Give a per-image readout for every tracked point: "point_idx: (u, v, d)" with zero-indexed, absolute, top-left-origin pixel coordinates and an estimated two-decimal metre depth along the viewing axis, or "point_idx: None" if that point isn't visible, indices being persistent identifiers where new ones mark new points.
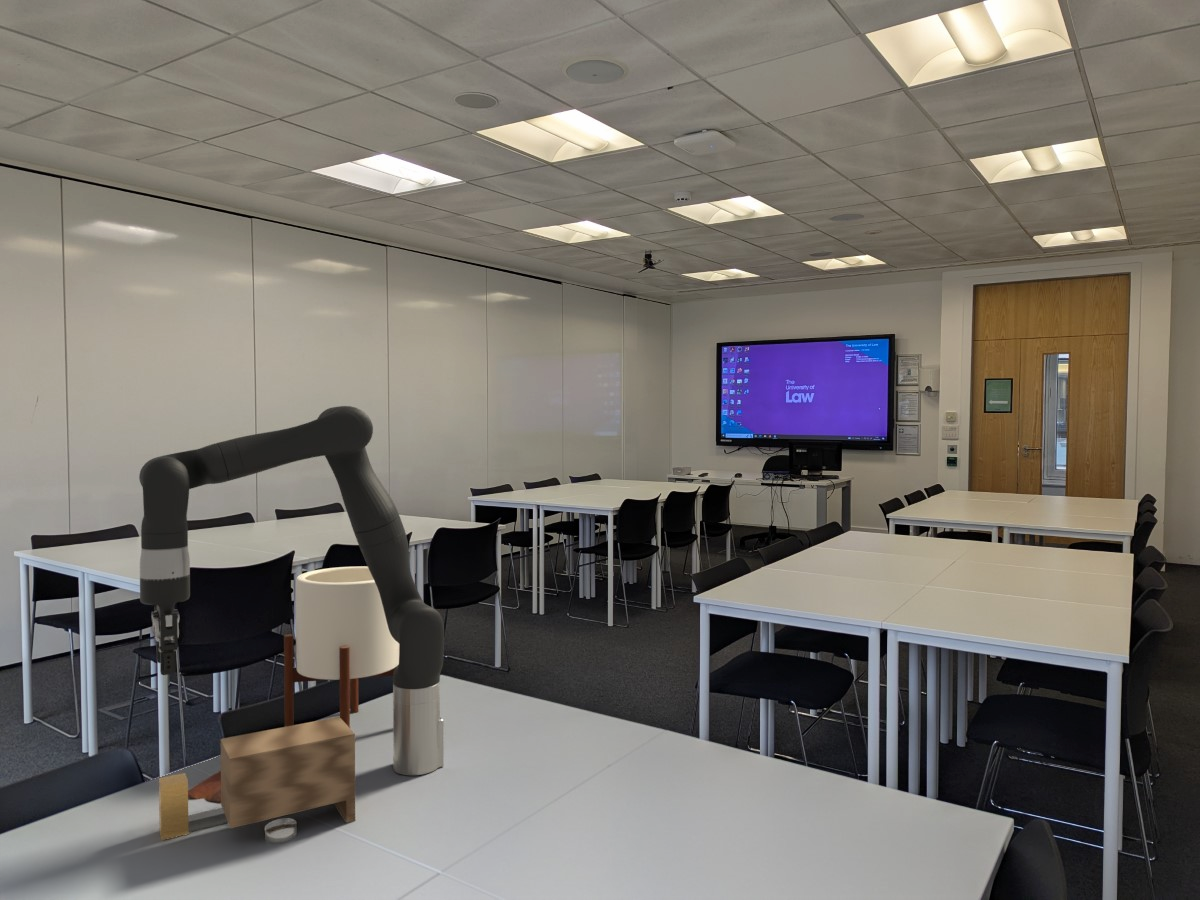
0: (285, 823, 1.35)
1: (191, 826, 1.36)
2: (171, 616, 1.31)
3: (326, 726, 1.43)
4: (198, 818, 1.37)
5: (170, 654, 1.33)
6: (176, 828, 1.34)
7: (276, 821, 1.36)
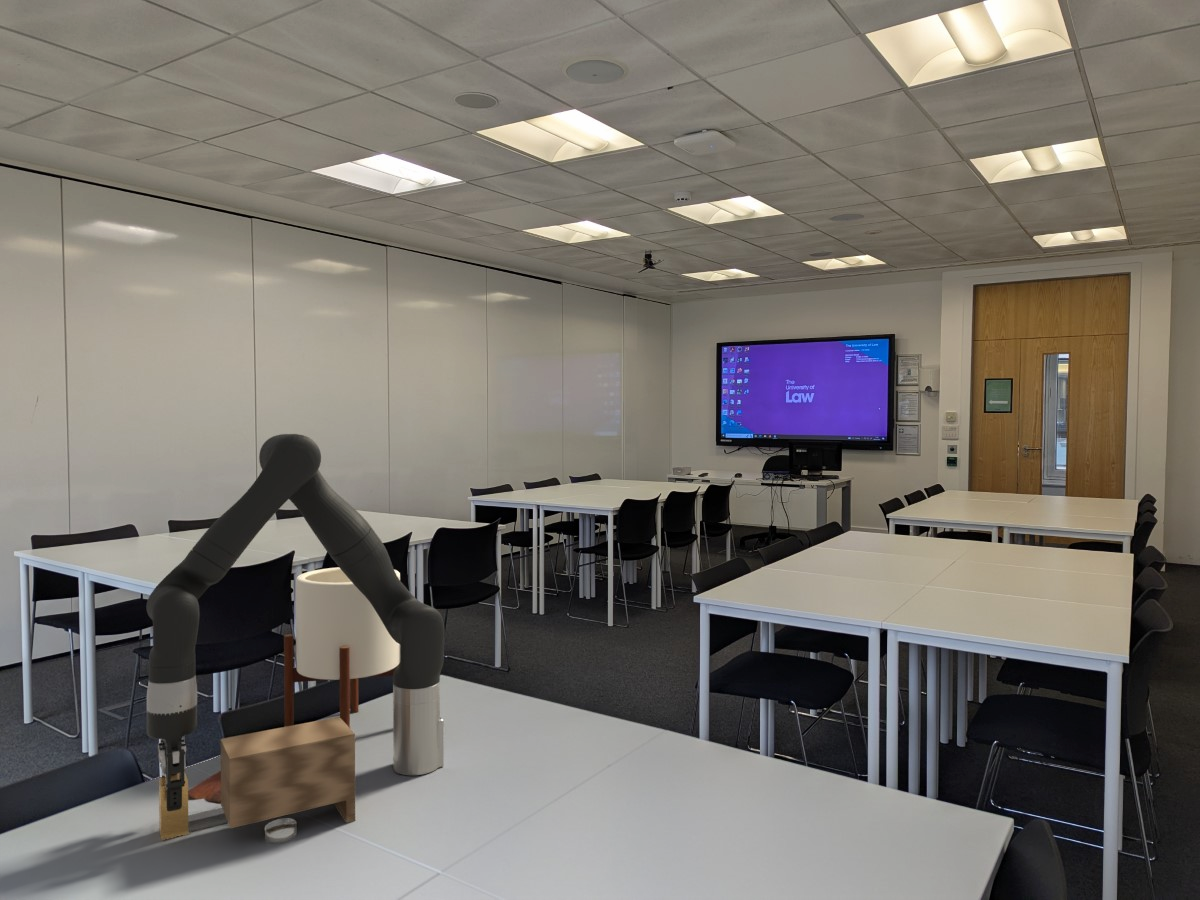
0: (285, 823, 1.35)
1: (191, 826, 1.36)
2: (178, 753, 1.30)
3: (326, 726, 1.43)
4: (198, 818, 1.37)
5: (176, 790, 1.31)
6: (176, 828, 1.34)
7: (276, 821, 1.36)
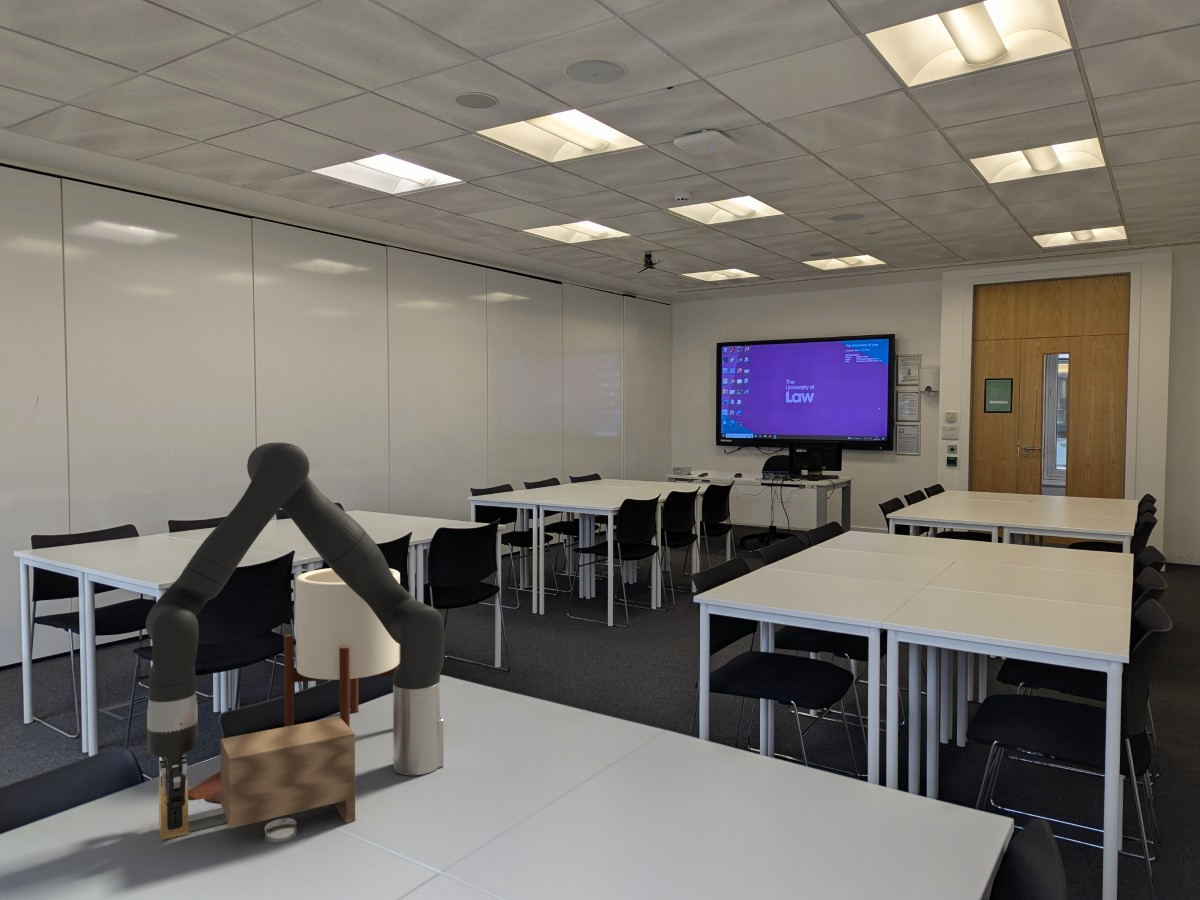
0: (285, 823, 1.35)
1: (191, 826, 1.36)
2: (179, 779, 1.30)
3: (326, 726, 1.43)
4: (198, 818, 1.37)
5: (177, 809, 1.33)
6: None
7: (276, 821, 1.36)
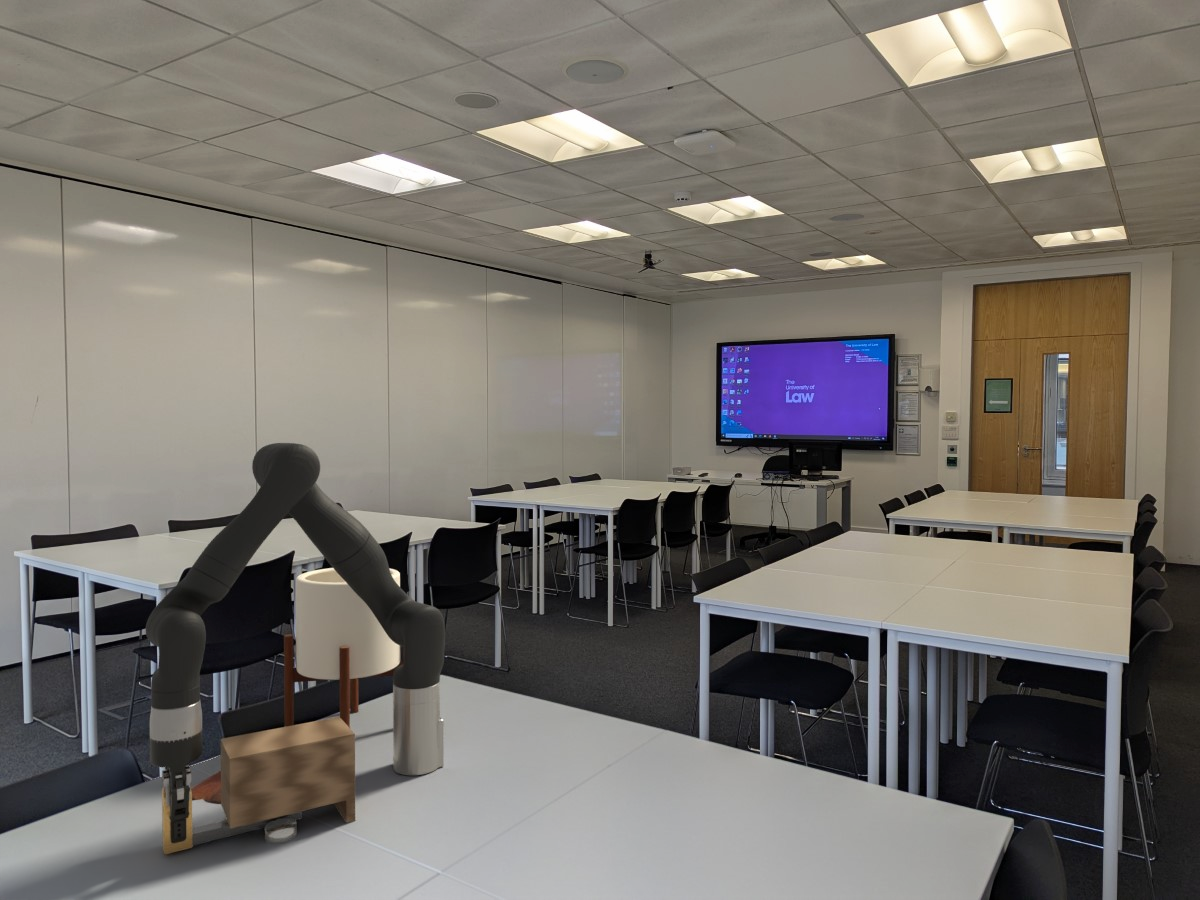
0: (285, 823, 1.35)
1: (195, 839, 1.30)
2: (183, 791, 1.24)
3: (326, 726, 1.43)
4: (203, 830, 1.31)
5: (181, 821, 1.27)
6: None
7: (276, 821, 1.36)
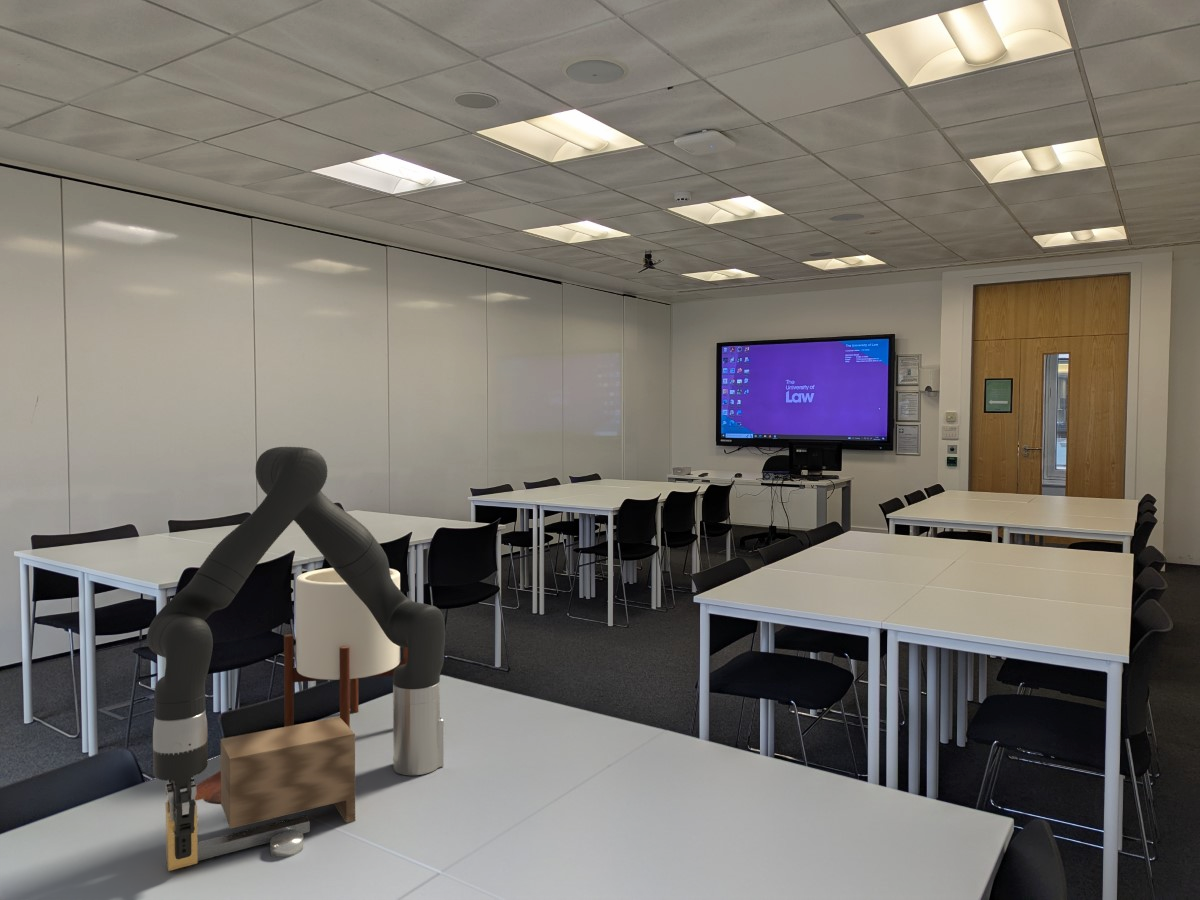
0: (291, 836, 1.31)
1: (200, 854, 1.25)
2: (188, 805, 1.20)
3: (326, 726, 1.43)
4: (208, 845, 1.26)
5: (185, 837, 1.22)
6: None
7: (282, 834, 1.31)
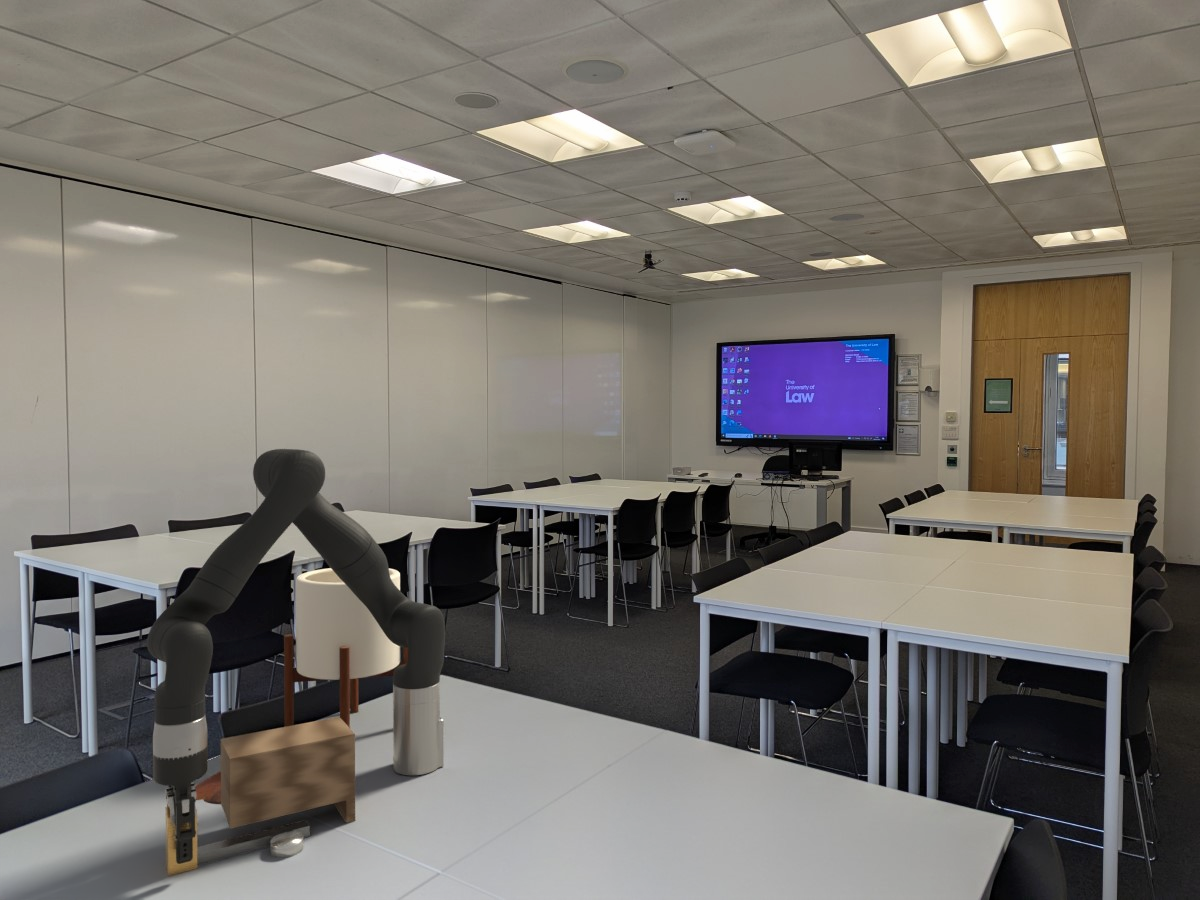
0: (292, 837, 1.31)
1: (200, 859, 1.25)
2: (188, 801, 1.19)
3: (326, 726, 1.43)
4: (208, 850, 1.26)
5: (187, 841, 1.21)
6: (185, 862, 1.23)
7: (282, 834, 1.31)
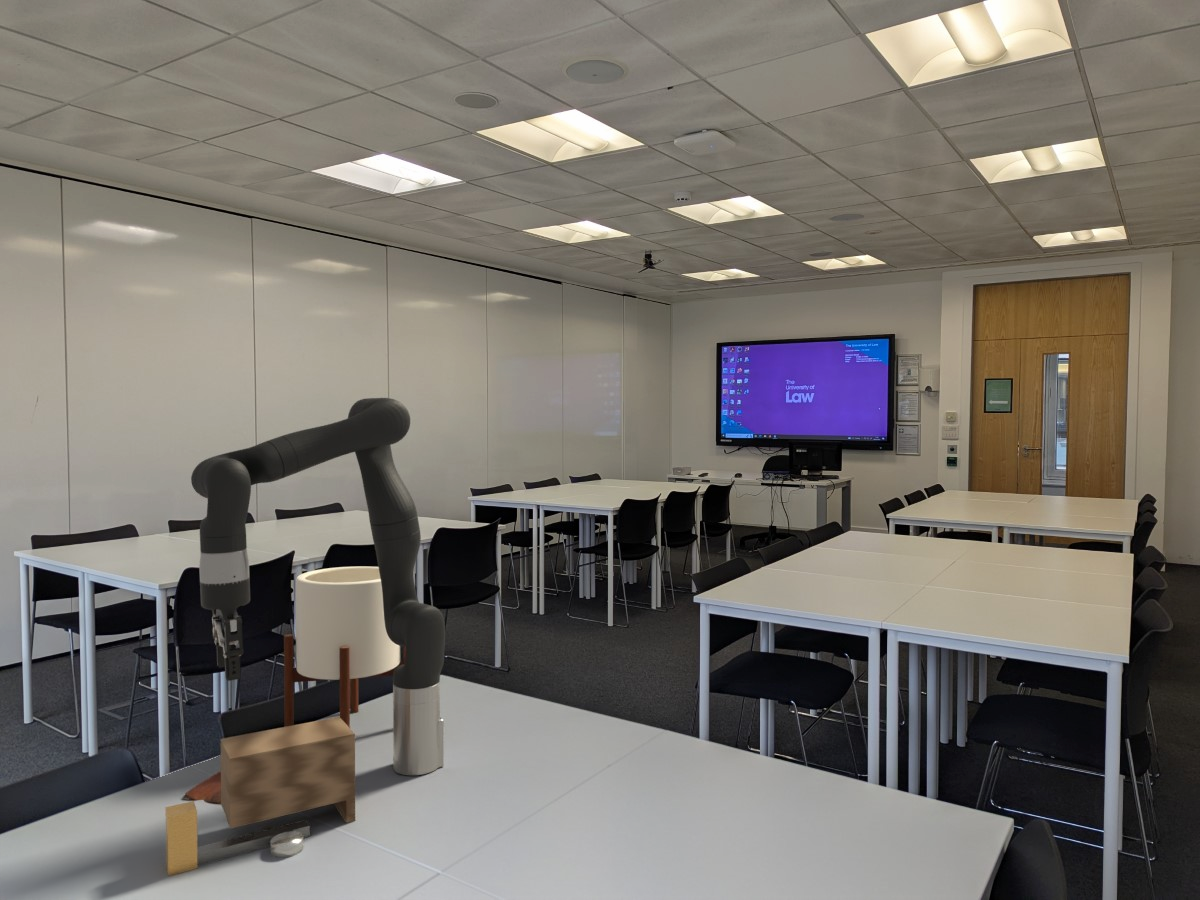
0: (292, 836, 1.31)
1: (200, 859, 1.25)
2: (235, 621, 1.29)
3: (326, 726, 1.43)
4: (208, 850, 1.26)
5: (235, 659, 1.30)
6: (185, 862, 1.23)
7: (282, 834, 1.31)
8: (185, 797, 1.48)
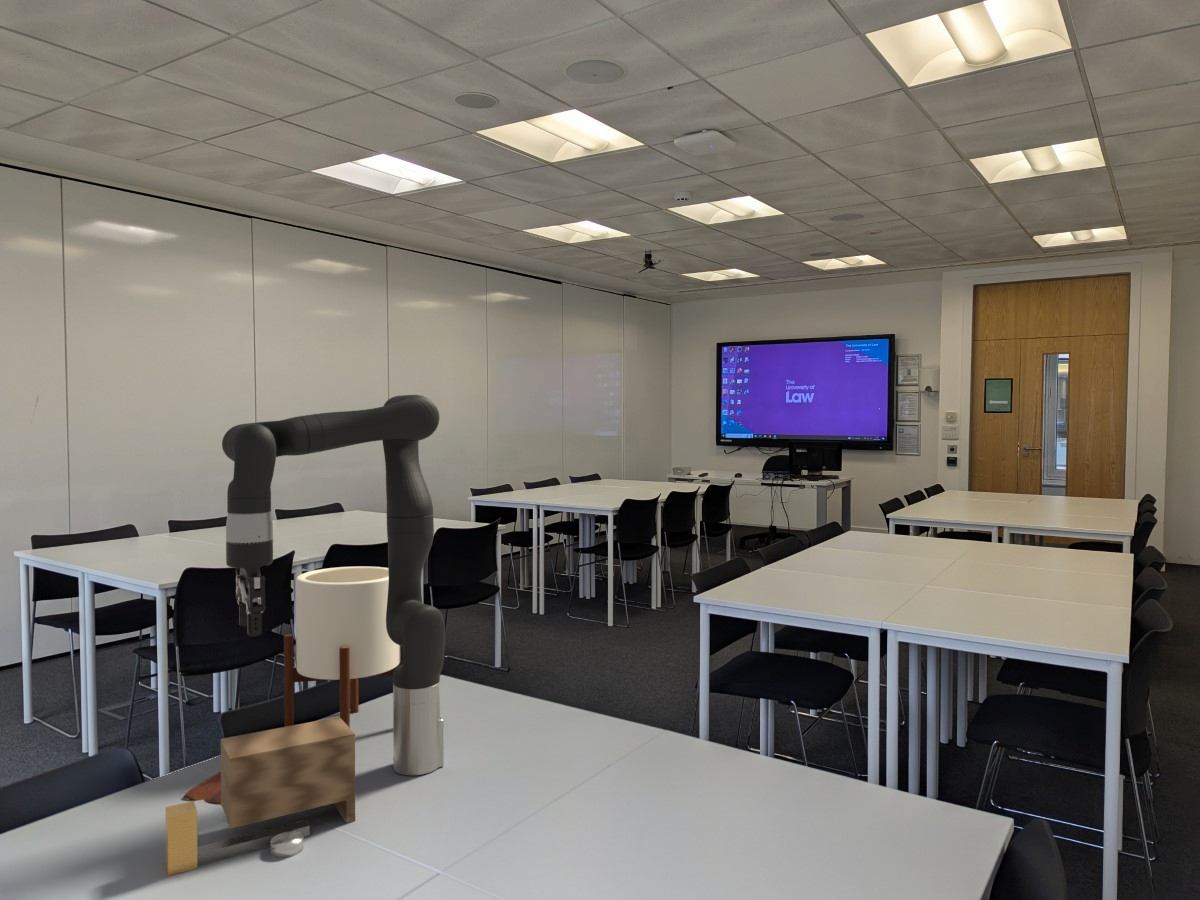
0: (292, 836, 1.31)
1: (200, 859, 1.25)
2: (259, 578, 1.34)
3: (326, 726, 1.43)
4: (208, 850, 1.26)
5: (257, 616, 1.36)
6: (185, 862, 1.23)
7: (282, 834, 1.31)
8: (185, 797, 1.48)
